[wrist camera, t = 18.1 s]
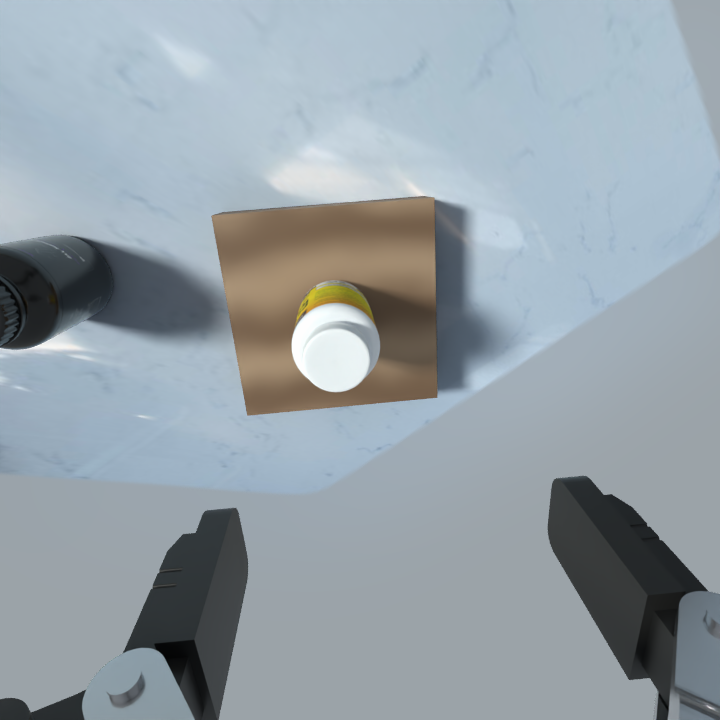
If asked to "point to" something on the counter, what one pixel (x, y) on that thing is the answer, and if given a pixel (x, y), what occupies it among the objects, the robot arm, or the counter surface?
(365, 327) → the supplement bottle
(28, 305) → the supplement bottle
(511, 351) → the counter surface
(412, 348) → the walnut block
